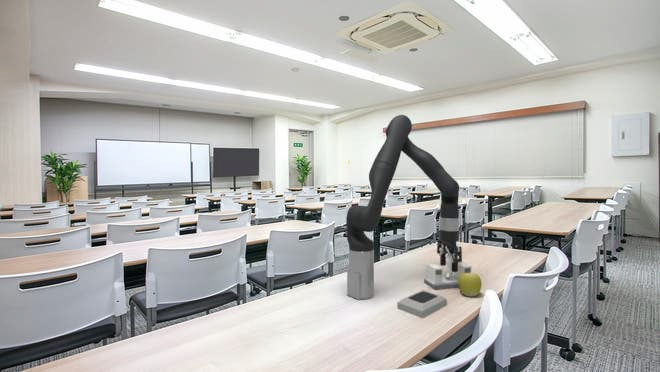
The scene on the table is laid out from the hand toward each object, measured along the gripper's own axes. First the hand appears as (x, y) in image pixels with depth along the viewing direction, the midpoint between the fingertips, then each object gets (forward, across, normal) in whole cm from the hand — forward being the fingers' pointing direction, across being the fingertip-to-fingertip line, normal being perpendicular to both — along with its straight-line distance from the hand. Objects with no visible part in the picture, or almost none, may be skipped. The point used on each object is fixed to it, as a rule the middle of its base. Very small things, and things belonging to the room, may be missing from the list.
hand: (448, 268), depth 129 cm
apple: (+7, -11, -2) cm, 13 cm away
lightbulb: (+4, 0, 0) cm, 4 cm away
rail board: (+7, 0, 0) cm, 7 cm away
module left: (+5, 0, +6) cm, 8 cm away
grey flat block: (+7, -17, +20) cm, 28 cm away
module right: (+5, 0, -6) cm, 8 cm away
